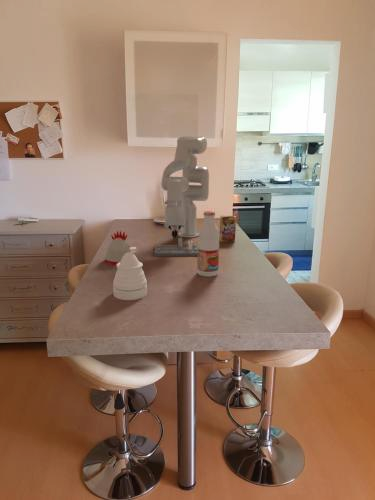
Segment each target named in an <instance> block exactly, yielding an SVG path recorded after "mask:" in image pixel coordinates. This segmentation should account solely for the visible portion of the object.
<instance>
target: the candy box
mask: <svg viewBox="0 0 375 500" xmlns="http://www.w3.org/2000/svg"><path fill="white" fill-rule="evenodd" d="M219 219H220V220H219V237H218V241H219V243H223V242H224V243H228V242H230V243H231V242H233V243H234V242H235V243H236V231H237V230H236V228H237V216H236V215H220V218H219Z"/></svg>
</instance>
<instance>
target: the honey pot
mask: <svg viewBox="0 0 375 500" xmlns="http://www.w3.org/2000/svg"><path fill="white" fill-rule="evenodd" d="M130 251H131V252H127V253H126V254H125V255H124V256H123V258H122V259H121V261H120V262H119V263H118V264H117V265H115V267H116V268H117V270H116V271H115V276H114V279H113V281H112V285H113V289H112V290H113V296H114V298H116V299H118V300H124V301H135V300H139V299H142V298H144V297H146V296H147V294H148V284H147V283H148V281H147V278H146V276H145V272H144V270H143V263H142V262H141V261H139V260H138V258H137V256H136V255H135V253H136V251H137V247H136V246H131V247H130Z"/></svg>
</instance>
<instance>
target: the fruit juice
mask: <svg viewBox="0 0 375 500" xmlns="http://www.w3.org/2000/svg"><path fill="white" fill-rule="evenodd" d="M215 216H216V212H215V211H212V210H211V211H210V210H207V211H204V212H203V217H204V219H203V222H202V224H201V225H200V227H199V228H198V232H197V233H198V234H199V235H198V238H199V239H198V242H197V245H198V256H197V263H196V264H197V267H196V270H197V271H196V272H197V275H199V276H201V277H206V278H210V277H211V278H212V277H215V276H218V274H219V259H220V241H219V235H220V228H219V227H218V226H217V224H216V220H215Z"/></svg>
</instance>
